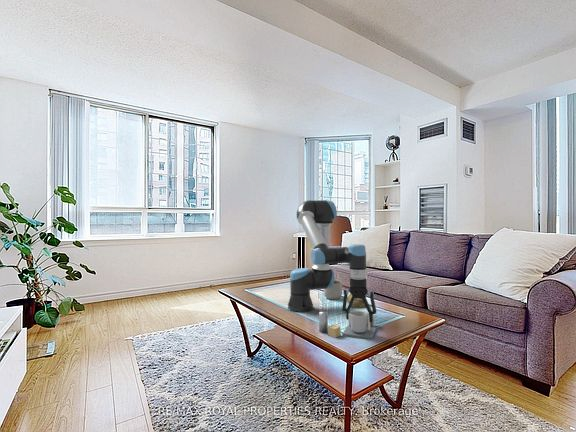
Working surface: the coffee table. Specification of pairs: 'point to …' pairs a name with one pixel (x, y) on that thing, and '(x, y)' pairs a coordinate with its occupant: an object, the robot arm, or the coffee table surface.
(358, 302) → the pastry
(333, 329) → the ochre block
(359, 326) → the cup
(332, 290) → the planter
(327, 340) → the coffee table surface
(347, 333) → the coaster
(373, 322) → the walnut block
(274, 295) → the coffee table surface
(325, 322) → the grey peg
